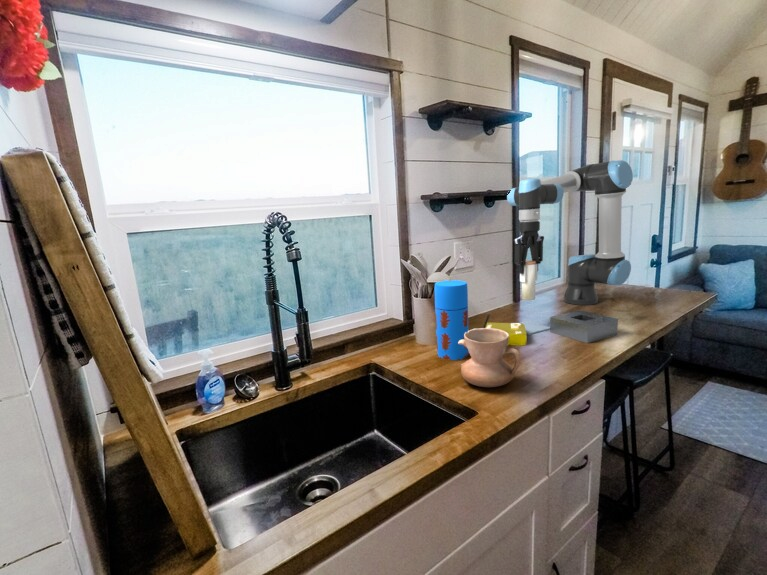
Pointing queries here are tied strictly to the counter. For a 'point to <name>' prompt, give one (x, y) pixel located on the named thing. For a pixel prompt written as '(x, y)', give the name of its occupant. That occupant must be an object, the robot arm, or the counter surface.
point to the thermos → (451, 318)
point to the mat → (534, 327)
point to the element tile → (512, 332)
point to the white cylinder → (529, 281)
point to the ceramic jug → (488, 358)
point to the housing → (583, 326)
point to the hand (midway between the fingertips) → (528, 280)
